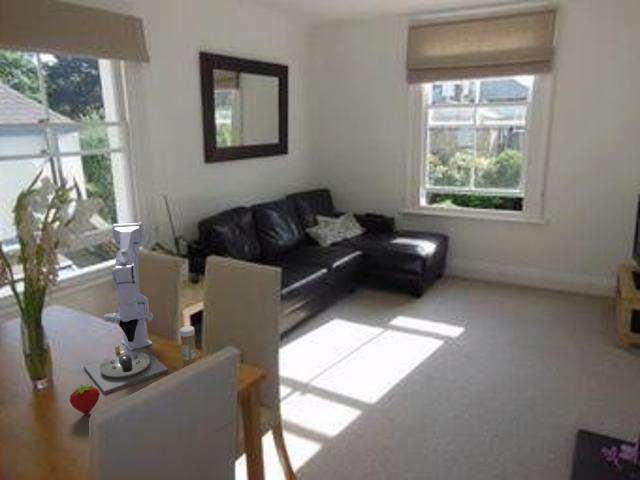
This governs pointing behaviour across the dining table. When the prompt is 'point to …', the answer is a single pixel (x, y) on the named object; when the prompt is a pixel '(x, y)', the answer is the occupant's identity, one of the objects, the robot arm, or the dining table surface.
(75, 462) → the dining table surface
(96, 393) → the strawberry
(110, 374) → the flange plate
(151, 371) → the charcoal board
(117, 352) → the brass dowel
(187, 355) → the sprinkles bottle
